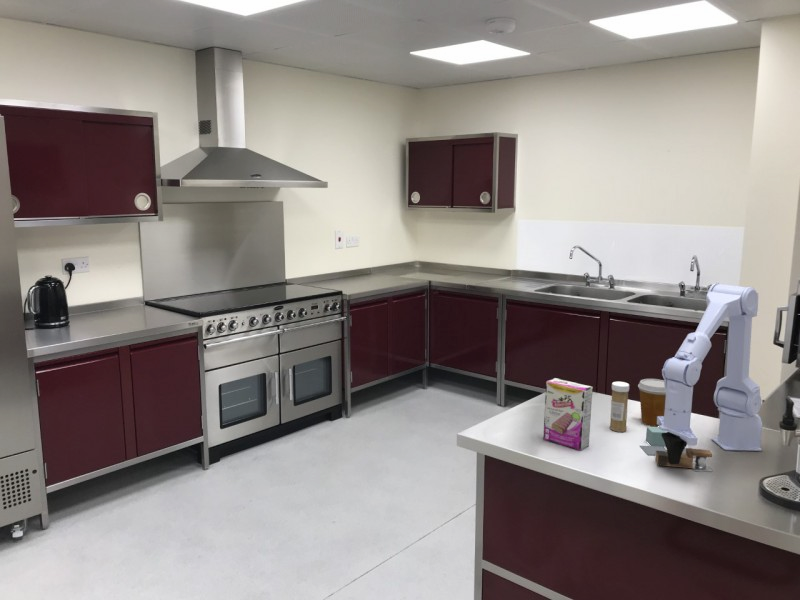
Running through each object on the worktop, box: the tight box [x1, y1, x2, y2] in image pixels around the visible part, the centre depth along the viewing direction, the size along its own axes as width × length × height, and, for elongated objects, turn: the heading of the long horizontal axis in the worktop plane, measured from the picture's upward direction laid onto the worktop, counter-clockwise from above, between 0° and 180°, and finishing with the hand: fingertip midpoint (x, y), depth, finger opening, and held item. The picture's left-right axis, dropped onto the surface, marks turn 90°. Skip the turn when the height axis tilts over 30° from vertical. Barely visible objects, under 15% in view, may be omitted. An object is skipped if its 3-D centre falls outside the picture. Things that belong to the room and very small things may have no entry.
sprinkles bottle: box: [609, 381, 630, 433], centre depth 173 cm, size 5×5×13 cm
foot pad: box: [682, 447, 696, 459], centre depth 158 cm, size 6×6×1 cm
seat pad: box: [639, 445, 667, 457], centre depth 159 cm, size 6×6×1 cm
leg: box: [655, 447, 713, 469], centre depth 150 cm, size 12×3×4 cm, turn 78°
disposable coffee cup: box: [637, 378, 666, 427], centre depth 179 cm, size 10×10×12 cm
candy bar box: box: [542, 377, 594, 452], centre depth 163 cm, size 11×5×16 cm, turn 47°
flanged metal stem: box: [691, 456, 714, 473], centre depth 149 cm, size 4×4×3 cm
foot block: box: [645, 426, 667, 448], centre depth 164 cm, size 4×4×4 cm
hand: (673, 463), depth 148 cm, fingers closed, pressing on leg
